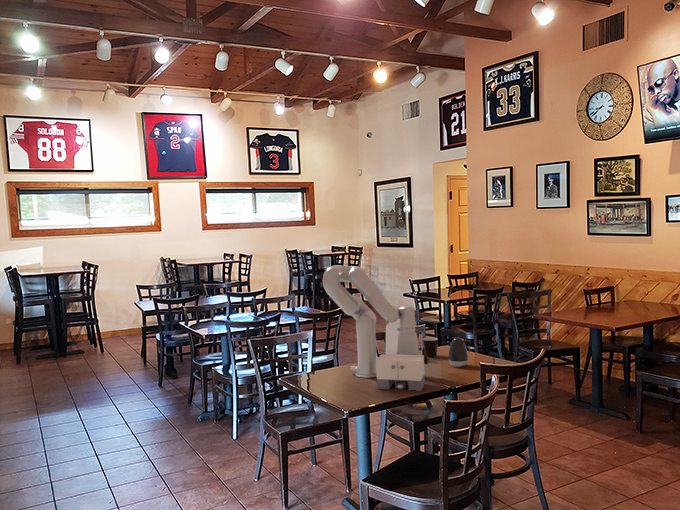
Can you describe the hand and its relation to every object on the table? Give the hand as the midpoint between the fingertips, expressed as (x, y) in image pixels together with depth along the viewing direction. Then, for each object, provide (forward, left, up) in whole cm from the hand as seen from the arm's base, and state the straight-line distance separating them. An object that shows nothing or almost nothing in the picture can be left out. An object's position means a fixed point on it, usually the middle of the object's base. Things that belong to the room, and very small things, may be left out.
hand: (408, 367), depth 266 cm
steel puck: (0, -23, -4) cm, 24 cm away
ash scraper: (0, -8, -3) cm, 9 cm away
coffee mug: (+5, +42, -4) cm, 42 cm away
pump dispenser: (+23, +22, -4) cm, 32 cm away
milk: (-13, +39, -4) cm, 41 cm away
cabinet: (0, -21, -4) cm, 22 cm away
